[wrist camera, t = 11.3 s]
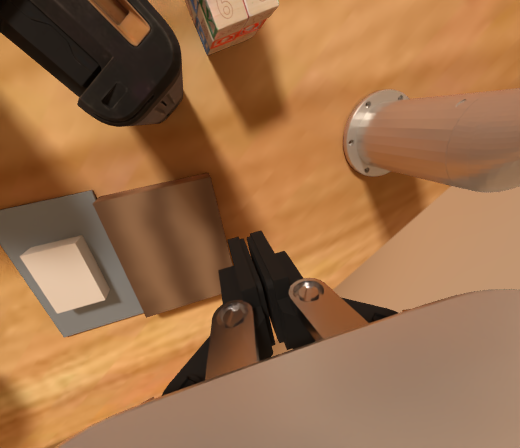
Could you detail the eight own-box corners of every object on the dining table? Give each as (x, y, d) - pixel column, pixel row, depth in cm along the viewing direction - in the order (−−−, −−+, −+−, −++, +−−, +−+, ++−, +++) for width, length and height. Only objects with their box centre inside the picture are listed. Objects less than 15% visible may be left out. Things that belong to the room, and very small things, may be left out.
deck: (208, 172, 34) (210, 177, 32) (234, 278, 42) (238, 288, 39) (100, 196, 32) (92, 203, 29) (148, 304, 39) (146, 317, 37)
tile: (19, 256, 29) (30, 247, 32) (57, 313, 33) (64, 302, 35) (75, 243, 31) (82, 235, 33) (105, 300, 34) (110, 289, 36)
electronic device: (82, 63, 27) (-121, -52, 9) (118, 19, 26) (-21, -195, 8) (157, 129, 31) (119, 141, 13) (189, 93, 30) (195, 53, 13)
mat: (92, 190, 31) (91, 190, 31) (147, 309, 40) (147, 311, 39) (-18, 213, 29) (-21, 214, 29) (65, 335, 38) (64, 337, 37)
